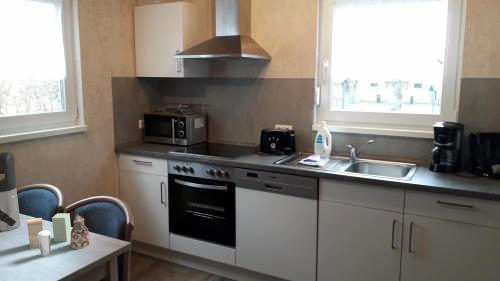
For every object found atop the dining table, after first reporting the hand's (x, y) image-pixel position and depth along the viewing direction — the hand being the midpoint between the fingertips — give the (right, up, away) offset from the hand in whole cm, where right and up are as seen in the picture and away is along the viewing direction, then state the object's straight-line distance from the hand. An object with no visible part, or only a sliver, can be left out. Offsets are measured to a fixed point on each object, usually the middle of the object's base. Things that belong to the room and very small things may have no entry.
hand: (8, 221), depth 142 cm
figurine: (+17, -13, +19) cm, 29 cm away
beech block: (0, -13, +19) cm, 23 cm away
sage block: (+7, -12, +25) cm, 28 cm away
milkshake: (+7, -15, +11) cm, 20 cm away
